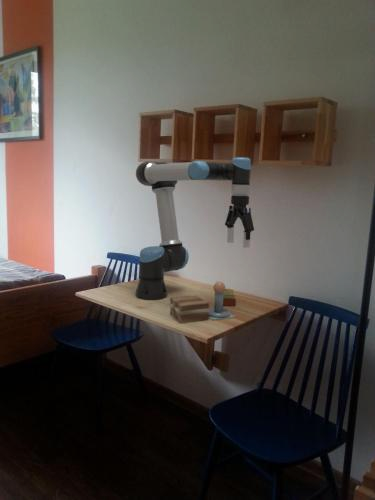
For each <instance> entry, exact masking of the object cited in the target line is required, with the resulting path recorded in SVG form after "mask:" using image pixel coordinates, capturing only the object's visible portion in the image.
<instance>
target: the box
mask: <svg viewBox="0 0 375 500" xmlns="http://www.w3.org/2000/svg"><path fill="white" fill-rule="evenodd" d="M169 307H170V308H169V314H170V315H171V316H172V317H173V318H174V319H175V320H176V321H178V323H180V324H186V323H194V322H195V323H196V322H203V321H204V322H205V321H209V319H210V318H209V309H210V303H209V302H208V301H206V300H205V299H204V298H201V297H200V296H198V295H188V296H178V297H176V296H175V297H170V302H169Z"/></svg>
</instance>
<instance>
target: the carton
mask: <svg viewBox="0 0 375 500" xmlns="http://www.w3.org/2000/svg"><path fill="white" fill-rule="evenodd" d="M236 301H237V298H236V296H235V291H234V289H230V288H225V291H224V293H223V307H236V305H237V304H236V303H237V302H236Z"/></svg>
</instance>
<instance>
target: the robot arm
mask: <svg viewBox="0 0 375 500" xmlns="http://www.w3.org/2000/svg"><path fill="white" fill-rule="evenodd" d="M251 167H252V165H251V158H249V157H233V159H232V162H216V161H203V160H194V161H191V162H190V161H189V162H173V163H170V162H169V163H168V162H165V161H164V162H162V161H161V162H160V161H159V162H158V161H145V162H141V163H140V164H138V166H137V168H136V170H135V178H136V179H137V181H138V182H139V183H140V185H143V186H146V187H147V186H148V187H151V191H152V193H154V194H155V198H156V207H157V215H158V222H159V230H160V238H161V240H160V241H161V242H160V243H159V244H158V245H154V246H147V247H144V248H141V249H140V251H139V259H138V260H139V280H138V284H137V287H136V290H135V297H136V298H138V299H140V300H141V299H142V300H147V301H153V300H154V301H155V300H162V299H165V298H167V297H168V289H167V285H166V283H165V279H164V278H165V273H168V272H172V271H179V270H181V269H184V268H185V267H186V265H188V262H189V257H190V255H189V251H188V249H186V247H185V246H183V241H181V240H180V239H179V232H178V223H177V215H176V208H175V200H174V191H175V189H176V185H177V184H178V181H220V182H221V181H231V196H230V204H231V205H229V208H228V213H227V216H226V219H225V223H224V226H226V228H227V237H226V238H227V239H226V243H228V244H230V243H234V236H235V235H234V233H235V224H236V222H237V219H238V218H239V219H240V220H241V224H242V227H243V229H244V230H243V236H242V237H243V238H242V240H243V242H242V248H244V249H245V248H247V249H248V248H251V247H250V246H251V244H250V243H251V233H252V232H254V231H255V228H254V222H253V216H252V209H251V207H247V206H248V205H249V204H250V196H249V195H250V186H251V185H250V184H251V183H250V181H251V170H252V168H251Z"/></svg>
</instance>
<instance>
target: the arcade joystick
mask: <svg viewBox="0 0 375 500" xmlns="http://www.w3.org/2000/svg"><path fill="white" fill-rule="evenodd" d="M212 288H213V291H214V304H213V305H214V307H213V308H212V307H211V308H209V317H213V318H227V317H229V316H230V314H231V311H230V310H229V309H227V308H224V306H223V293H224V291H225V289H226V285H225V284H224V282H223V281H216V282H215V283H214V285H213V287H212Z"/></svg>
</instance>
